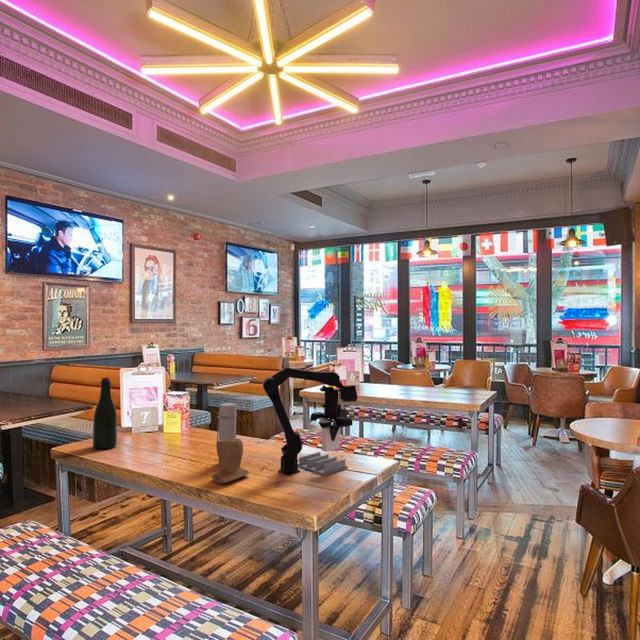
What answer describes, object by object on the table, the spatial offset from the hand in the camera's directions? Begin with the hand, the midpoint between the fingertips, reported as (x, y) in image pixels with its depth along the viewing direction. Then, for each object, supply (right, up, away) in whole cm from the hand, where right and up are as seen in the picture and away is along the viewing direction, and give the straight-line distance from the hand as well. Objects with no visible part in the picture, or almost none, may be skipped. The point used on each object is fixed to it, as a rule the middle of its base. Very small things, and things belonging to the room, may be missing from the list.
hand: (330, 440), depth 191 cm
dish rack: (-3, -12, +3) cm, 13 cm away
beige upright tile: (0, -4, 0) cm, 4 cm away
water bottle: (-45, -12, +7) cm, 47 cm away
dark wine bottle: (-106, -11, +30) cm, 111 cm away
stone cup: (-39, -12, -12) cm, 43 cm away
